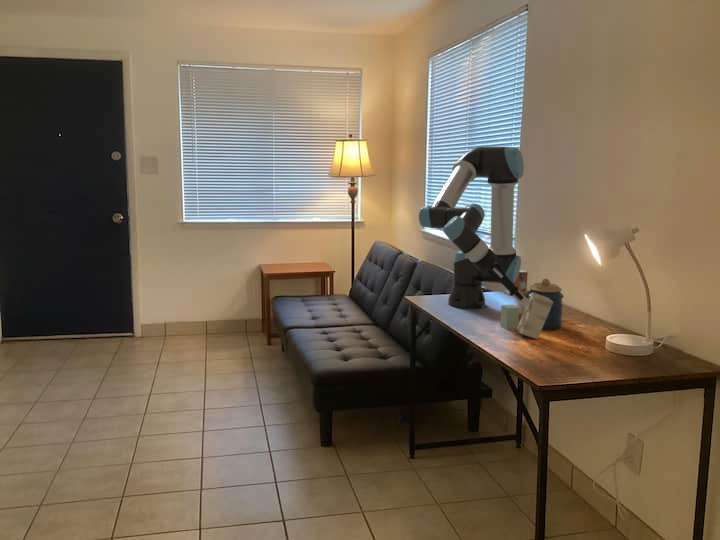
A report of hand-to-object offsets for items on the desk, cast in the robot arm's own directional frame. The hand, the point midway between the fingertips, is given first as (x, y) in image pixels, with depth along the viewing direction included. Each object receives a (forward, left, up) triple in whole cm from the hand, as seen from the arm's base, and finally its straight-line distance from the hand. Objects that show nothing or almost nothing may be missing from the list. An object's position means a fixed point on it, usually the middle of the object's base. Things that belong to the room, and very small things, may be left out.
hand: (527, 304), depth 214 cm
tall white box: (0, 0, -10) cm, 10 cm away
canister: (-15, +11, -12) cm, 22 cm away
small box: (-71, +15, -12) cm, 74 cm away
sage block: (-12, -3, -12) cm, 17 cm away
